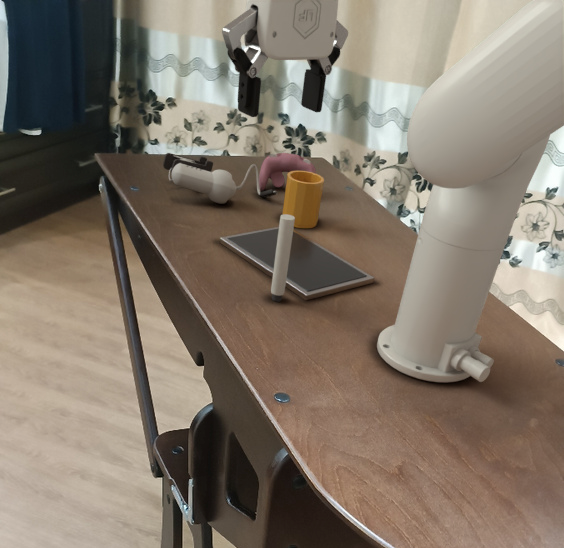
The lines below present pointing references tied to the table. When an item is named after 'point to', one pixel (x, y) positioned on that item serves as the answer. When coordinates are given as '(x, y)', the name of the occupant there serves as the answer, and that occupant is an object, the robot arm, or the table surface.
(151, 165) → the table surface
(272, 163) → the video game controller
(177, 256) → the table surface
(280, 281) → the stylus
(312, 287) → the tablet
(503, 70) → the robot arm
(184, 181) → the clip-on lamp
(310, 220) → the pen cup
